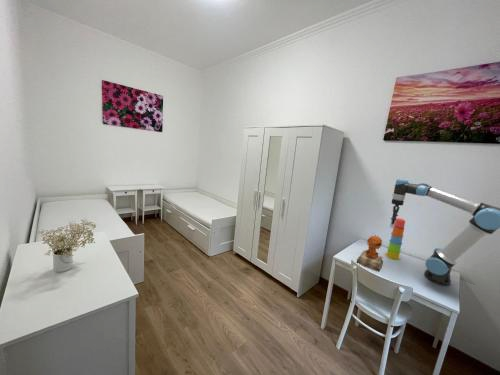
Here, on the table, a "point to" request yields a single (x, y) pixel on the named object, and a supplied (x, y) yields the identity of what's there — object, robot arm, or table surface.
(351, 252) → the table surface
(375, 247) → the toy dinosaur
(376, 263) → the egg carton
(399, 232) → the stacking cups
